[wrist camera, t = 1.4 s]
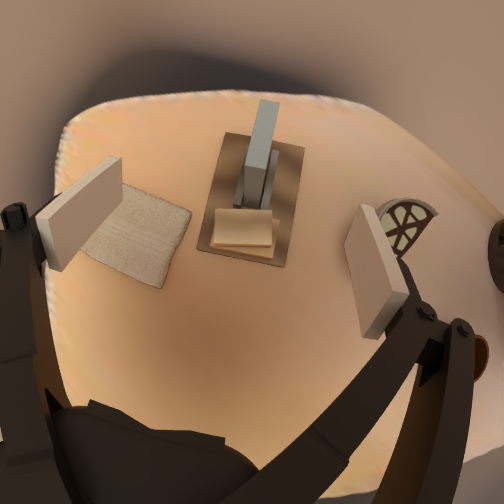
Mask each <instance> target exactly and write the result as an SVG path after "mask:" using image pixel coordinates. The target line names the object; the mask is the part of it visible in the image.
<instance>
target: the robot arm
mask: <svg viewBox="0 0 504 504" xmlns="http://www.w3.org/2000/svg"><path fill="white" fill-rule="evenodd" d="M122 201H123V188H122V157H114V156H110V157H108V158H107V159H105V160H104V161H103V162H101V163H100V164H98V165H97V166H96V167H94V168H93V169H92V170H90V171H89V172H88V173H86V174H85V175H84V176H83V177H81V178H80V179H79V180H77V181H76V182H75V183H74V184H72V185H71V186H70V187H69V188H67V189H66V190H65V191H64V192H62V193H60V194H58V195H56V196H54V197H53V198H52V199H50V200H49V201H48V203H46V204H45V205H44V206H43V207H41V208H40V209H39V210H38V211H37V212H35V213H34V214H33V215H32V216H31V217H30V218H29V217H28V212H27V208H26V205H25V204H24V203H20V202H18V203H13V204H11V205H9V206H7V207H6V208H4V209H3V210H2V211H1V214H0V215H1V219H2V222H3V226H4V229H5V230H0V427H1V433H2V437H3V441H1V442H0V504H313V503H314V502H315V501H316V500H317V499H318V498H319V497H320V496H321V495H322V494H323V493H324V492H325V491H326V490H327V489H328V488H329V486H330V485H331V484H332V483H333V482H334V481H335V480H336V479H337V478H338V477H339V475H340V474H341V473H342V472H343V471H344V469H345V468H346V467H347V465H348V463H349V458H350V456H351V455H352V453H353V452H354V451H355V450H356V448H357V447H358V446H359V445H360V443H361V442H362V441H363V440H364V438H365V437H366V436H367V434H368V433H369V432H370V430H371V429H372V428H373V426H374V425H375V424H376V422H377V421H378V420H379V418H380V417H381V415H382V414H383V413H384V411H385V410H386V408H387V407H388V405H389V404H390V402H391V401H392V399H393V398H394V396H395V395H396V393H397V392H398V390H399V389H400V387H401V385H402V384H403V382H404V381H405V379H406V377H407V376H408V374H409V372H410V371H411V369H412V367H413V366H414V364H415V363H418V364H419V365H418V369H417V374H416V378H415V382H414V386H413V390H412V394H411V397H410V401H409V405H408V408H407V412H406V415H405V418H404V421H403V425H402V428H401V431H400V434H399V437H398V440H397V443H396V445H395V448H394V451H393V454H392V456H391V459H390V461H389V464H388V467H387V469H386V471H385V474H384V476H383V479H382V481H381V483H380V486H379V488H378V490H377V492H376V494H375V497H374V499H373V501H372V503H371V504H452V501H453V498H454V495H455V491H456V488H457V484H458V480H459V476H460V472H461V468H462V463H463V459H464V454H465V449H466V443H467V438H468V431H469V425H470V417H471V409H472V399H473V387H474V369H475V334H474V331H473V329H472V327H471V326H470V325H469V323H468V322H466V321H465V320H463V319H460V318H456V319H454V320H453V321H452V322H451V323H450V325H449V324H446V323H444V322H442V321H440V320H438V319H437V314H436V312H435V310H434V309H433V308H432V307H431V306H430V305H429V304H427V303H426V302H424V301H422V300H421V297H420V295H419V292H418V290H417V287H416V285H415V282H414V280H413V277H412V276H411V273H410V270H409V268H408V266H407V265H406V264H405V263H404V261H403V260H402V259H399V258H396V257H395V255H394V253H393V250H392V248H391V246H390V243H389V241H388V239H387V236H386V234H385V232H384V230H383V227H382V225H381V223H380V221H379V219H378V217H377V214H376V212H375V210H374V208H373V207H372V206H368V205H365V204H361V203H360V205H359V208H358V210H357V213H356V215H355V218H354V220H353V223H352V225H351V228H350V230H349V233H348V235H347V238H346V240H345V243H344V248H345V253H346V257H347V262H348V266H349V271H350V276H351V280H352V285H353V290H354V295H355V300H356V306H357V311H358V317H359V322H360V328H361V334H362V338H368V339H376V340H378V339H379V337H380V336H381V335H382V333H383V332H384V331H385V335H386V339H385V341H384V342H383V343H382V345H381V346H380V347H379V348H378V350H377V351H376V352H375V353H374V355H373V356H372V357H371V359H370V360H369V361H368V362H367V363H366V365H365V366H364V367H363V368H362V370H361V371H360V372H359V373H358V374H357V375H356V377H355V378H354V379H353V380H352V381H351V382H350V384H349V385H348V386H347V387H346V388H345V389H344V390H343V391H342V393H341V394H340V395H339V396H338V397H337V398H336V399H335V400H334V401H333V402H332V403H331V404H330V405H329V407H328V408H327V409H326V410H325V411H324V412H323V413H322V414H321V415H320V416H319V417H318V418H317V419H316V420H315V421H314V422H313V423H312V424H311V425H310V426H309V427H308V428H307V429H306V430H305V431H304V432H303V433H302V434H301V435H300V436H298V437H297V438H296V439H295V440H294V441H293V442H292V443H291V444H290V445H289V446H288V447H287V448H285V449H284V450H283V451H282V452H281V453H280V454H279V455H278V456H276V457H275V458H274V459H273V460H272V461H271V462H269V463H268V464H267V465H266V466H265V467H263V468H262V469H261V470H260V471H259V470H258V468H257V467H256V466H255V465H254V464H253V463H252V462H251V461H250V460H249V459H248V458H247V457H246V456H244V455H243V454H241V453H240V452H238V451H237V450H235V449H233V448H231V447H229V446H227V445H224V444H225V438H224V437H219V436H213V435H208V434H204V433H199V432H194V431H190V430H154V429H150V428H148V427H146V426H145V425H143V424H141V423H140V422H138V421H136V420H135V419H133V418H131V417H130V416H128V415H127V414H125V413H124V412H122V411H120V410H118V409H115V408H112V407H109V406H107V405H104V404H101V403H99V402H96V401H94V400H91V399H90V401H89V403H88V406H73V407H72V405H71V403H70V401H69V399H68V397H67V395H66V392H65V388H64V385H63V381H62V377H61V373H60V369H59V365H58V361H57V356H56V351H55V347H54V342H53V336H52V331H51V325H50V319H49V312H48V305H47V297H46V289H45V279H44V269H43V266H42V263H43V261H44V260H45V259H47V262H48V266H49V268H50V269H53V270H56V271H59V272H62V271H63V270H64V269H65V267H66V266H67V265H68V264H69V262H70V261H71V260H72V258H73V257H74V256H75V255H76V254H77V252H78V251H79V250H80V249H81V247H82V246H83V245H84V244H85V243H86V241H87V240H88V239H89V238H90V237H91V236H92V234H93V233H94V232H95V231H96V230H97V229H98V227H99V226H100V225H101V224H102V223H103V222H104V221H105V220H106V218H107V217H108V216H109V215H110V214H111V213H112V212H113V211H114V210H115V209H116V207H117V206H118V205H119V204H120V203H121V202H122ZM489 264H490V269H491V273H492V276H493V279H494V281H495V283H496V285H497V287H498V288H499V289H500V290H501V291H502V292H503V293H504V220H501V221H499V222H498V223H496V225H495V226H494V228H493V230H492V232H491V235H490V240H489Z"/></svg>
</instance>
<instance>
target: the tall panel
mask: <svg viewBox="0 0 504 504" xmlns="http://www.w3.org/2000/svg"><path fill="white" fill-rule="evenodd" d="M278 108H279V102H274V101H268V100H263V99H261V100H260V104H259V108H258V112H257V116H256V120H255V124H254V128H253V132H252V137H251V141H250V145H249V149H248V153H247V158H246V162H245V174H244V207H249V208H254V209H258V207H259V202H260V197H261V192H262V187H263V182H264V177H265V172H266V168H267V163H268V158H269V153H270V148H271V143H272V138H273V133H274V128H275V123H276V118H277V113H278Z"/></svg>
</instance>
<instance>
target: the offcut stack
mask: <svg viewBox="0 0 504 504" xmlns="http://www.w3.org/2000/svg"><path fill="white" fill-rule="evenodd" d="M279 222H280V220H278V219H273V218H272V210H250V209H223V208H218V209H215V225H214V229H213V234H212V238H211V243H210V246H211V248H213V249H218V250H223V251H228V252H232V253H237V254H242V255H247V256H252V257H257V258H262V259H267V260H271V259H272V258H273V254H274V248H275V243H276V238H277V232H278V227H279Z"/></svg>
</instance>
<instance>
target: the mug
mask: <svg viewBox="0 0 504 504" xmlns="http://www.w3.org/2000/svg"><path fill="white" fill-rule="evenodd" d="M488 358H489V347H488V344H487V341H486V340H485V339H484V338H483V337H482V336H480V335H476V334H475V369H474V382H476V381H477V380H478V379H479V378H480V377H481V375H482V374H483V372H484V371H485V368H486V366H487V363H488Z"/></svg>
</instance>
